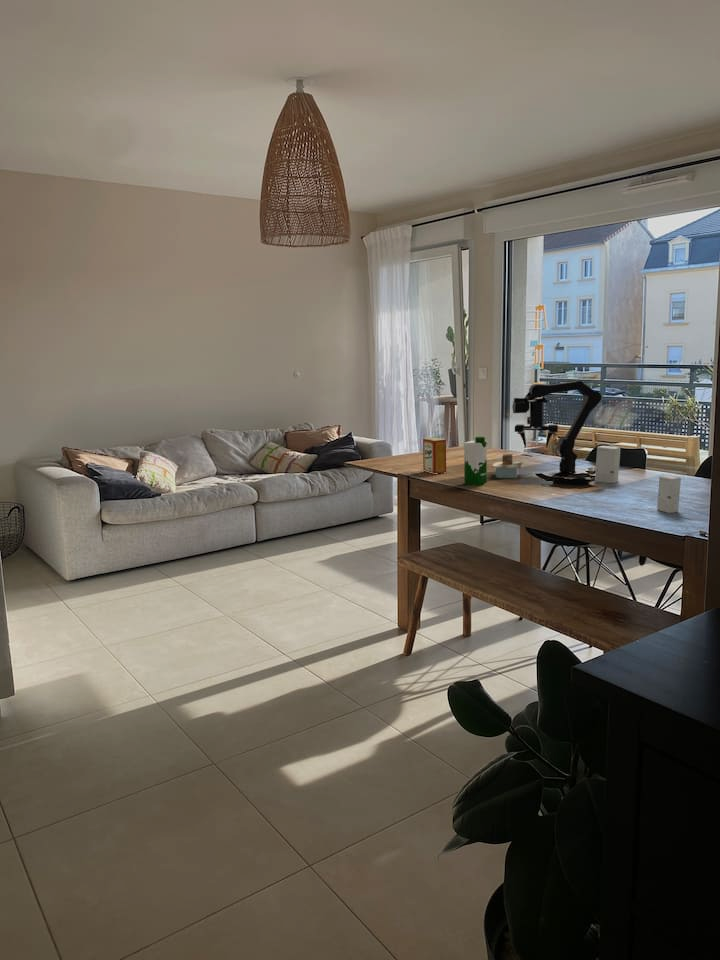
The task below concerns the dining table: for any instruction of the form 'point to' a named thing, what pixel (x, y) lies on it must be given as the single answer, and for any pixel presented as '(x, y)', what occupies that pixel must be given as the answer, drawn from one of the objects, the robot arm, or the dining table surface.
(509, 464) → the lid
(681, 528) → the dining table surface
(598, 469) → the skincare box
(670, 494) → the skincare box
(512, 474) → the light blue storage bin
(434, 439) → the baking soda box
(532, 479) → the mat
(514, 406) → the robot arm
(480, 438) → the milk carton
